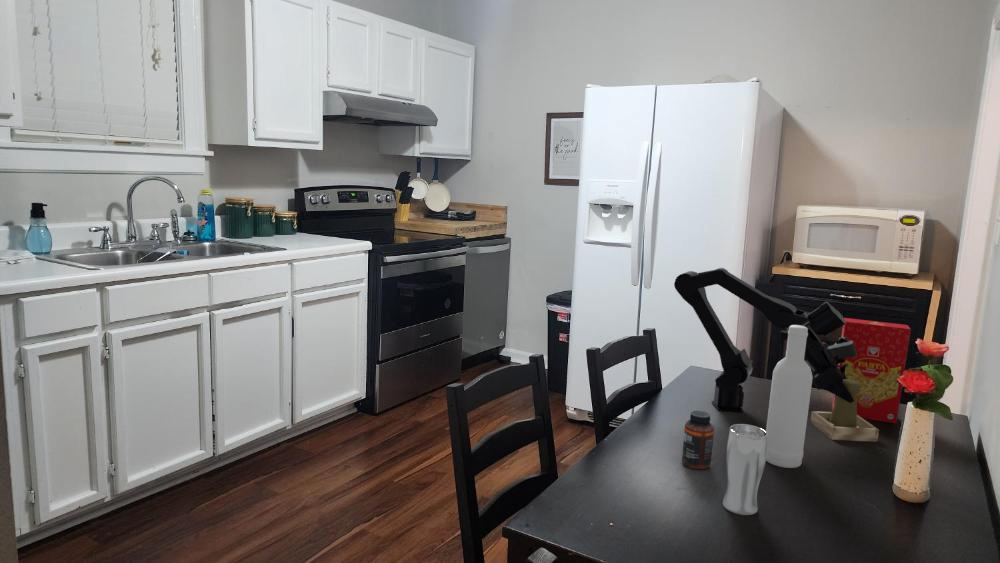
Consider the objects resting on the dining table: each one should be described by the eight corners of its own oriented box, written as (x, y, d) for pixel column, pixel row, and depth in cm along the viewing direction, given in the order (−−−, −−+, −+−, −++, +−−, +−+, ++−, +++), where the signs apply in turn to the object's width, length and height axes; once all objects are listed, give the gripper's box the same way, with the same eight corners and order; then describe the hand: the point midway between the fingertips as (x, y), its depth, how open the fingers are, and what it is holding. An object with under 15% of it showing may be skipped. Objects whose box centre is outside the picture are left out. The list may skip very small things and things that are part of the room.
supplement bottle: (712, 462, 144) (717, 412, 142) (708, 473, 139) (713, 421, 137) (683, 456, 146) (688, 406, 144) (678, 466, 141) (683, 415, 139)
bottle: (756, 459, 146) (772, 325, 141) (770, 449, 152) (786, 320, 147) (794, 472, 141) (812, 333, 136) (807, 461, 147) (824, 327, 142)
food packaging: (833, 413, 179) (845, 321, 175) (831, 407, 184) (843, 317, 180) (896, 423, 173) (910, 329, 169) (893, 417, 178) (907, 325, 174)
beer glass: (755, 520, 120) (765, 441, 118) (716, 509, 124) (724, 431, 121) (763, 505, 126) (772, 429, 123) (725, 494, 129) (733, 420, 127)
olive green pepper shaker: (862, 427, 163) (869, 383, 162) (843, 428, 161) (849, 385, 160) (842, 418, 169) (849, 376, 167) (823, 419, 167) (830, 377, 165)
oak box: (831, 439, 160) (833, 427, 160) (810, 422, 171) (811, 411, 170) (877, 441, 160) (879, 429, 160) (853, 424, 171) (855, 413, 171)
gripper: (835, 335, 155) (882, 391, 152) (841, 321, 171) (883, 372, 168) (794, 361, 160) (839, 416, 157) (803, 346, 176) (844, 395, 173)
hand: (852, 399), depth 164 cm, fingers closed on olive green pepper shaker, 5 cm apart
